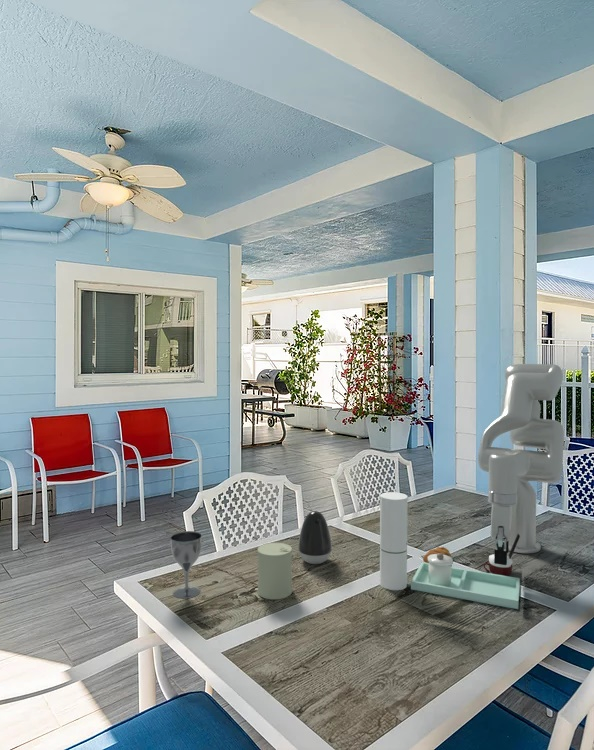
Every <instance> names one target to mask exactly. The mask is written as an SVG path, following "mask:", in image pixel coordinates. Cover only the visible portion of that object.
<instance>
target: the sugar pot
mask: <svg viewBox="0 0 594 750" xmlns="http://www.w3.org/2000/svg"><path fill="white" fill-rule="evenodd" d="M428 562H429V580H428V582H429V584H434V585H440V586H445V587H450V586H451V583H452V567H453V566H452V565H453V563H454V559H453V557H452V558H451V557H449V556H447V555H443V554H442V553H438V554H432V555H429V556H428Z"/></svg>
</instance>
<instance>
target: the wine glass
mask: <svg viewBox="0 0 594 750" xmlns="http://www.w3.org/2000/svg"><path fill="white" fill-rule="evenodd" d="M202 542H203V541H202V533H200V532H199V531H193V530H185V531H180V532H179V531H178V532H175V533H173V534H172V535H171V536H170V549H171V554H172V558H173V559H174V561H175V562H176V564H178V565H179V566H180V567H181V569H182V570H183V573H184V582H185V583H184V585H185V586H180V587H178V588H176V589H174V590H173V592H172V594H173V596H174V597H175V598H177V599H183V600H184V599H190V598H195V597H197V596H199V595H200V593H201V589H200V588H199V587H197V586H194V585H189V577H190V570H191V568H192V567H193V565H194V564H195V563H196V562H197V560H198V559H199V558H200V554H201V551H202Z"/></svg>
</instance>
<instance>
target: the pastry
mask: <svg viewBox="0 0 594 750" xmlns="http://www.w3.org/2000/svg"><path fill="white" fill-rule="evenodd" d="M438 553H442V554H443V555H447V556H449V557H451V558H452V559H453V557H452V553H450V550H449V549H448V548H446V547H445V546H438V547H436V548H433V549H429V550H428V551H427V553H426V554H425V555H424V557H423V558H422V560H423V562H424V563H429V562H428V556H429V555H432V554H438Z"/></svg>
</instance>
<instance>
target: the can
mask: <svg viewBox="0 0 594 750" xmlns="http://www.w3.org/2000/svg"><path fill="white" fill-rule="evenodd" d="M292 550H293V548H292V546H291V545H290V544H286V543H284V542H268V543H264V544H260V545H259V546H258V547H257V591H256V592H257V595H258V596H259V597H261V598H264V599H266V600H283V599H285V598H288V597H289V596H291V594H292V593H293V584H292V583H293V581H292V579H293V578H292V571H293V567H292V566H293V565H292V561H293V559H292V558H293V556H292V553H293V551H292Z"/></svg>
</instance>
